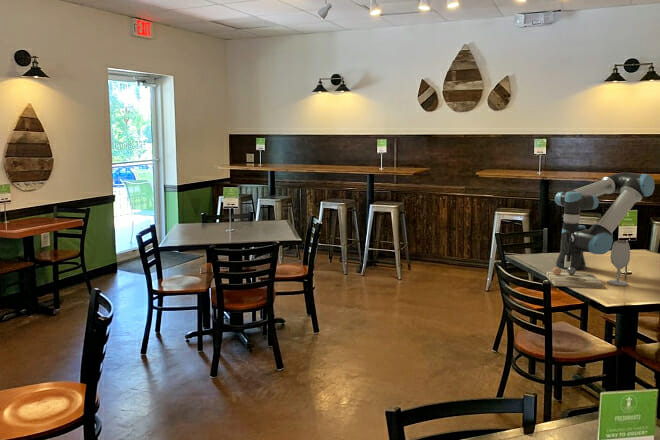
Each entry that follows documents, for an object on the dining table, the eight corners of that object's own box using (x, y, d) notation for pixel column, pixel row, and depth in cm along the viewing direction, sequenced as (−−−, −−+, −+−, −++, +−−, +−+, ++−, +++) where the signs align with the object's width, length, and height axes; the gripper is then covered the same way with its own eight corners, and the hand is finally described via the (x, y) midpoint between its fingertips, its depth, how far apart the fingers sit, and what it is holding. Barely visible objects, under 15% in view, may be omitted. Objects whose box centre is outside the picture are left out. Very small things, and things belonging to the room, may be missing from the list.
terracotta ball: (551, 273, 293) (552, 266, 292) (559, 274, 292) (560, 266, 291) (553, 275, 289) (553, 267, 288) (561, 276, 288) (562, 268, 287)
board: (546, 276, 297) (546, 271, 297) (591, 278, 294) (591, 273, 294) (554, 285, 280) (554, 280, 279) (602, 288, 276) (602, 283, 276)
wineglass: (631, 286, 281) (635, 243, 278) (615, 286, 280) (619, 244, 276) (619, 281, 290) (623, 240, 286) (603, 281, 288) (607, 240, 285)
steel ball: (565, 273, 293) (566, 265, 293) (574, 273, 293) (574, 266, 292) (567, 275, 290) (568, 267, 289) (576, 275, 289) (577, 268, 288)
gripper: (560, 219, 302) (556, 264, 306) (566, 223, 289) (562, 269, 293) (575, 220, 301) (571, 264, 304) (582, 224, 288) (578, 270, 292)
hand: (567, 267), depth 299 cm, fingers closed
